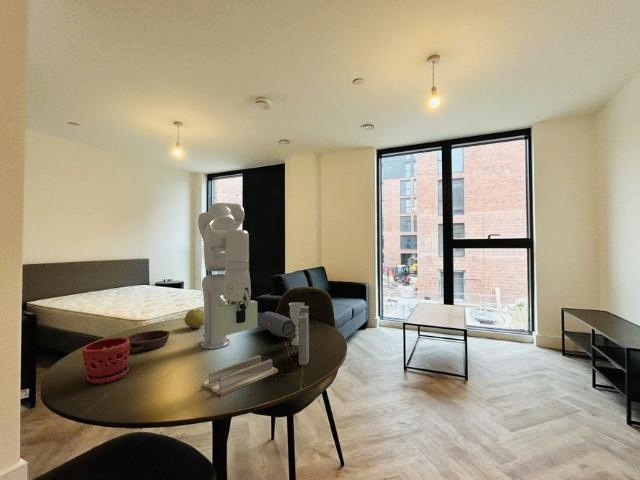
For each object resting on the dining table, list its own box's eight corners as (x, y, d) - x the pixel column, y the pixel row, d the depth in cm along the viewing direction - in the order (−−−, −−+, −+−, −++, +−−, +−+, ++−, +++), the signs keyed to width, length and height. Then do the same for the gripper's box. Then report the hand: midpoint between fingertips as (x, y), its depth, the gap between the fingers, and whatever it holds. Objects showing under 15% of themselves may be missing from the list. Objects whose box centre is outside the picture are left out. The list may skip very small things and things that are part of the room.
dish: (111, 355, 124) (111, 343, 125) (146, 338, 146) (146, 328, 147) (151, 355, 123) (151, 343, 123) (180, 339, 145) (180, 328, 145)
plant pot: (102, 370, 109) (102, 336, 109) (138, 370, 108) (138, 336, 108) (71, 387, 96) (71, 349, 96) (112, 387, 95) (112, 349, 95)
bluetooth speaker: (258, 331, 157) (258, 311, 157) (274, 328, 162) (274, 309, 163) (279, 341, 139) (279, 320, 139) (297, 338, 144) (296, 317, 144)
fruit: (179, 330, 159) (179, 311, 159) (192, 325, 171) (192, 307, 171) (198, 331, 157) (198, 312, 157) (210, 325, 169) (210, 307, 169)
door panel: (216, 334, 96) (215, 306, 96) (252, 325, 107) (252, 300, 107) (221, 336, 94) (220, 307, 94) (257, 327, 105) (257, 301, 105)
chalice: (306, 341, 139) (305, 302, 139) (303, 346, 132) (303, 305, 132) (290, 341, 140) (290, 302, 140) (287, 345, 133) (287, 305, 133)
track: (202, 385, 96) (202, 372, 96) (258, 364, 112) (258, 353, 113) (221, 396, 89) (221, 382, 89) (278, 371, 105) (277, 360, 105)
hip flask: (299, 350, 127) (298, 302, 127) (308, 350, 127) (308, 302, 128) (298, 365, 111) (298, 311, 112) (309, 364, 111) (309, 310, 112)
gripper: (214, 266, 103) (214, 320, 103) (241, 268, 93) (242, 328, 92) (233, 265, 109) (233, 316, 109) (261, 267, 98) (261, 323, 98)
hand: (237, 321), depth 100 cm, fingers closed on door panel, 3 cm apart
